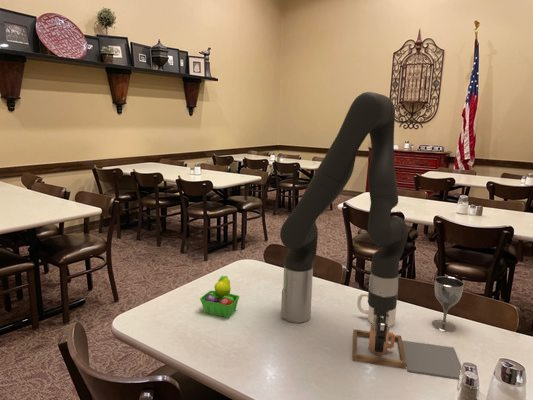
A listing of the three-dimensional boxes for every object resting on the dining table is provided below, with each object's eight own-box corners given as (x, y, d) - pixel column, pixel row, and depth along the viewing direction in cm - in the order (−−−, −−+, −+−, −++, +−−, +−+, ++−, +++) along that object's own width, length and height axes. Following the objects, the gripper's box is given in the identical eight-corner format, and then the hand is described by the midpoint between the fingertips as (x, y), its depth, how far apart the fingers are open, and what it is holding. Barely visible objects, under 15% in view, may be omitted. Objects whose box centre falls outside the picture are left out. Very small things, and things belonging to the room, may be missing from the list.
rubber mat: (407, 371, 100) (407, 369, 100) (401, 341, 113) (401, 340, 113) (466, 380, 97) (466, 378, 97) (453, 348, 110) (453, 347, 110)
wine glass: (456, 322, 125) (461, 278, 122) (459, 334, 118) (465, 288, 114) (429, 317, 127) (434, 274, 124) (430, 329, 120) (436, 284, 117)
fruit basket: (198, 313, 127) (198, 281, 125) (212, 301, 135) (212, 271, 133) (229, 320, 123) (229, 287, 121) (242, 308, 131) (242, 277, 129)
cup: (394, 330, 119) (397, 299, 117) (354, 322, 123) (356, 293, 121) (395, 317, 127) (397, 288, 125) (357, 310, 131) (359, 282, 129)
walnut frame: (352, 360, 104) (353, 355, 104) (353, 333, 117) (353, 329, 117) (406, 368, 101) (406, 363, 101) (400, 340, 114) (401, 335, 114)
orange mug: (368, 353, 107) (370, 330, 106) (368, 343, 112) (370, 321, 110) (394, 357, 106) (396, 334, 104) (392, 347, 110) (394, 324, 109)
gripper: (368, 277, 113) (364, 330, 116) (369, 299, 99) (364, 358, 103) (395, 280, 111) (390, 334, 115) (400, 302, 97) (394, 363, 101)
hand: (378, 345), depth 109 cm, fingers closed on orange mug, 5 cm apart
